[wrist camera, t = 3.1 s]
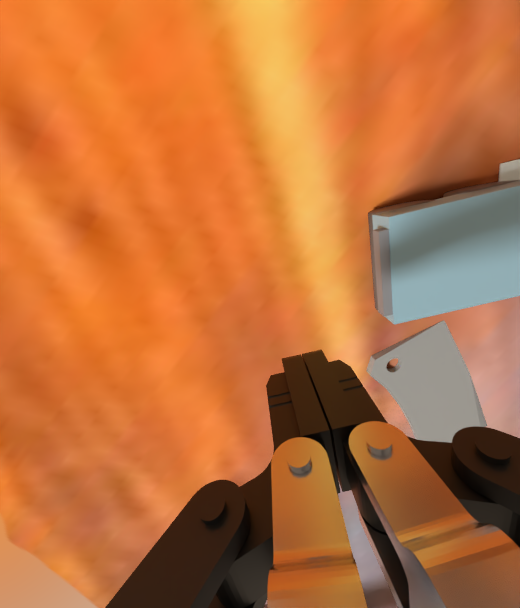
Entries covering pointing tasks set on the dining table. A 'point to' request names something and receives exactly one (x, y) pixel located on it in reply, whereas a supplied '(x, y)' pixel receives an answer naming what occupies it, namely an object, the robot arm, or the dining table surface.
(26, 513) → the dining table surface
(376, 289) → the pale blue lipped slab
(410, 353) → the kitchen cleaver
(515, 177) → the dock
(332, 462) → the robot arm
